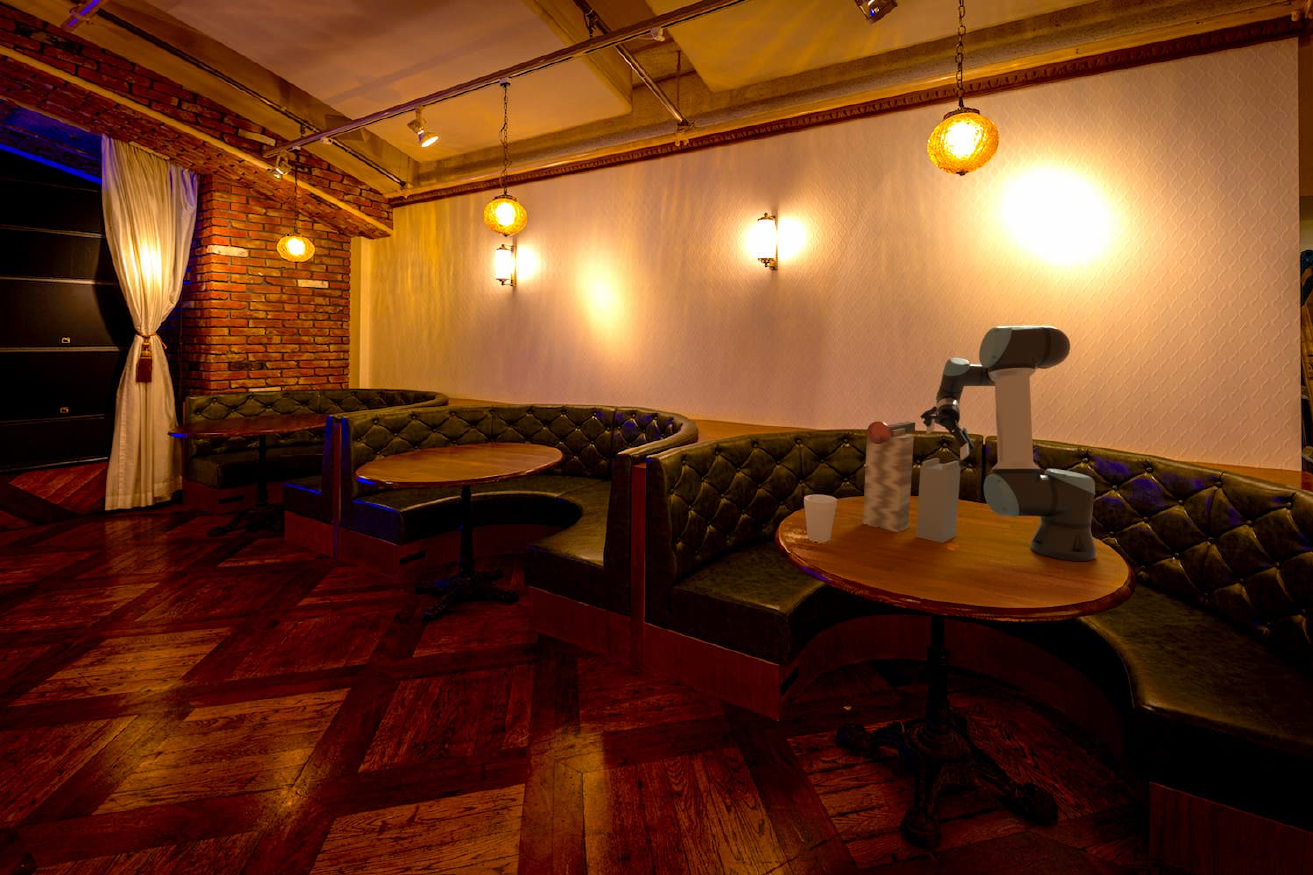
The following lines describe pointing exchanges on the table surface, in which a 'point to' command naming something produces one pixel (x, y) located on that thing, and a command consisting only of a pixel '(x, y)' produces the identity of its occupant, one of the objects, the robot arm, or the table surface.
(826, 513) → the foam cup
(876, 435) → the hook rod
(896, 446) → the beige patterned tall block
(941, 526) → the tall grey block
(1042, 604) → the table surface
